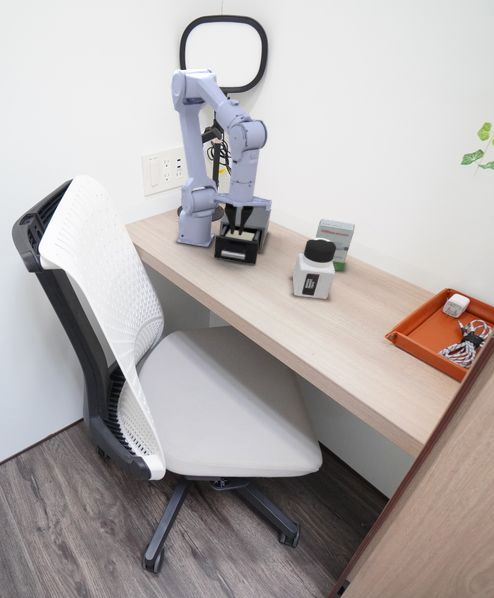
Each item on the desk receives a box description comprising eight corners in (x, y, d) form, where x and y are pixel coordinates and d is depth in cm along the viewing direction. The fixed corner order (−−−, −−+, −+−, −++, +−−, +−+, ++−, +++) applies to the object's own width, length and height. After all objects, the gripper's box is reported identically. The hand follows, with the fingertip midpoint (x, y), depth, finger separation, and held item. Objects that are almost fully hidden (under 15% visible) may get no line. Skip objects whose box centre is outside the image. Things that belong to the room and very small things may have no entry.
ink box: (343, 263, 99) (356, 223, 92) (341, 271, 96) (355, 231, 89) (310, 256, 102) (321, 217, 95) (308, 264, 99) (318, 224, 92)
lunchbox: (223, 250, 101) (225, 235, 98) (228, 243, 104) (230, 229, 101) (248, 255, 98) (250, 240, 96) (252, 248, 102) (254, 233, 99)
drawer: (252, 272, 94) (256, 251, 90) (210, 265, 96) (211, 244, 92) (261, 243, 106) (264, 223, 102) (223, 237, 109) (225, 218, 105)
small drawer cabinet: (261, 253, 103) (265, 227, 98) (218, 246, 106) (220, 221, 102) (267, 233, 114) (271, 208, 109) (227, 227, 117) (230, 203, 112)
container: (327, 299, 86) (342, 252, 78) (293, 295, 87) (305, 248, 79) (323, 282, 92) (337, 236, 84) (292, 278, 93) (303, 232, 85)
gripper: (207, 181, 81) (204, 235, 89) (273, 188, 78) (263, 244, 86) (215, 171, 87) (211, 223, 95) (276, 178, 83) (267, 232, 91)
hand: (236, 233), depth 91 cm, fingers closed
